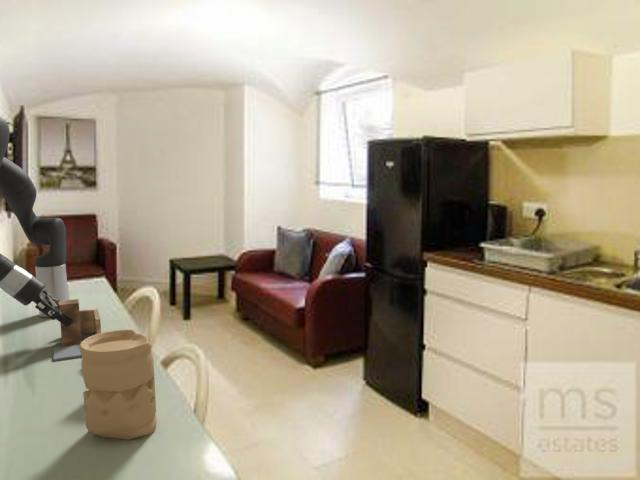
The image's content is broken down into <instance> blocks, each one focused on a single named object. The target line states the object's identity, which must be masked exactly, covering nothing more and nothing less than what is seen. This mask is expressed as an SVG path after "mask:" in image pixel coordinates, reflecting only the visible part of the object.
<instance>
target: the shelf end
mask: <svg viewBox="0 0 640 480" xmlns="http://www.w3.org/2000/svg"><path fill="white" fill-rule="evenodd" d="M79 312H80V326H81V335H82V334H89V333H90V334H91V333H94V335H96V334H99V333H102V328H101V327H102V325H101V324H102V323H101V318H100V317H101V316H100V312H99V308H91V309H90V308H89V309H79Z"/></svg>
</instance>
